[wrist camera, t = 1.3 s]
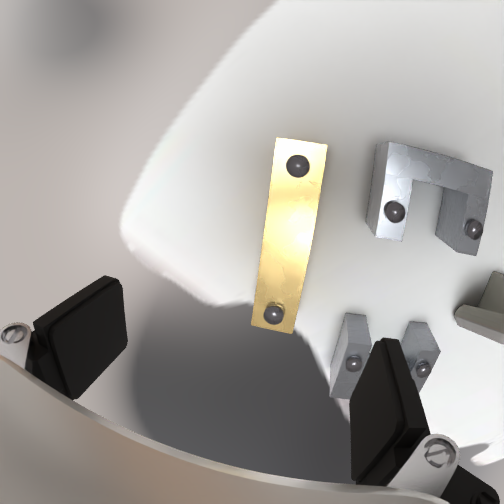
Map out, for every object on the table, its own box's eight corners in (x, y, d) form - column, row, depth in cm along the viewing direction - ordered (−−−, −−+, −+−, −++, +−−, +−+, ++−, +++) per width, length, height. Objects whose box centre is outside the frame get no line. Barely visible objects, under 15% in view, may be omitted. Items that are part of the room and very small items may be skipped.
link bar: (326, 147, 25) (327, 144, 20) (297, 308, 31) (291, 338, 26) (284, 141, 26) (274, 136, 21) (261, 301, 32) (248, 329, 27)
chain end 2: (330, 365, 32) (329, 400, 27) (345, 312, 30) (348, 346, 24) (405, 372, 30) (413, 407, 25) (426, 323, 28) (442, 355, 22)
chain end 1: (465, 167, 22) (496, 171, 16) (453, 238, 25) (479, 258, 19) (376, 144, 24) (391, 141, 18) (365, 221, 26) (376, 238, 21)
